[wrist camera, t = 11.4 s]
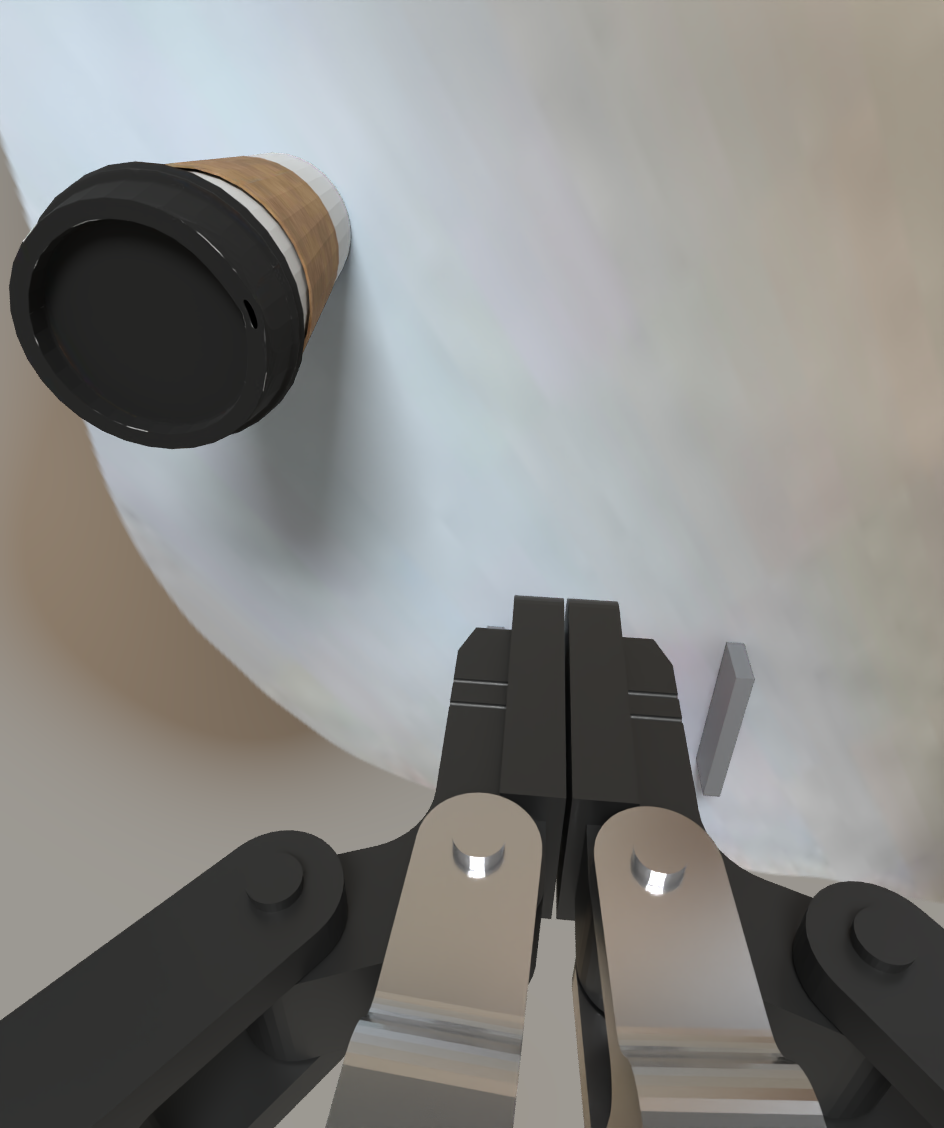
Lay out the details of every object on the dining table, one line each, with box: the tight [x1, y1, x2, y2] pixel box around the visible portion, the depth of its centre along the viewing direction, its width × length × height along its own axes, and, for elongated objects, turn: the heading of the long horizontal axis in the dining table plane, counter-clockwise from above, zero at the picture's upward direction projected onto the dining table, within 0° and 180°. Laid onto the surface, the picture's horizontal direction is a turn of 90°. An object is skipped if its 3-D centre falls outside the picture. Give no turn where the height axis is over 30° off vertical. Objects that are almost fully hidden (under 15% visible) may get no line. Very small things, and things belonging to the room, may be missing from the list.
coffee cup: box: [9, 152, 351, 449], centre depth 28 cm, size 8×8×15 cm
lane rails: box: [488, 626, 755, 797], centre depth 48 cm, size 15×10×3 cm, turn 89°
